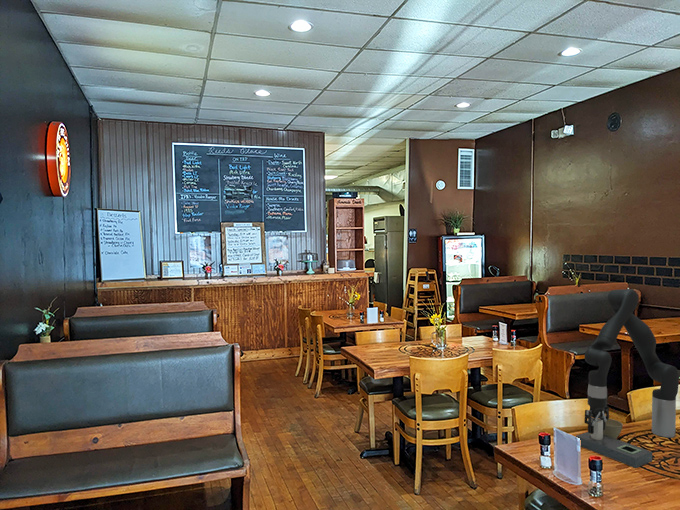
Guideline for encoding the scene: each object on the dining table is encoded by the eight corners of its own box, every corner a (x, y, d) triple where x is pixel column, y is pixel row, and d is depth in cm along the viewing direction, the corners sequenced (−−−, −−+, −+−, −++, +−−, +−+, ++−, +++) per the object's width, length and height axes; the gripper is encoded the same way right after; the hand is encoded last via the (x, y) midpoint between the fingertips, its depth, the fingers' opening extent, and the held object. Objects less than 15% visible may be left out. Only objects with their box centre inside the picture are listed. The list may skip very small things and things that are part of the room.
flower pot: (597, 439, 219) (598, 423, 219) (597, 431, 228) (597, 416, 228) (623, 443, 215) (623, 427, 215) (621, 435, 224) (622, 420, 223)
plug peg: (593, 443, 214) (593, 417, 214) (602, 447, 211) (603, 420, 210) (588, 445, 213) (589, 418, 212) (598, 448, 209) (598, 421, 209)
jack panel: (592, 439, 220) (592, 430, 219) (652, 461, 197) (652, 451, 197) (575, 444, 214) (575, 435, 214) (635, 468, 191) (635, 457, 191)
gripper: (598, 390, 218) (598, 425, 218) (579, 395, 211) (578, 431, 211) (615, 394, 211) (614, 431, 212) (595, 399, 204) (595, 437, 205)
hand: (596, 431), depth 211 cm, fingers open, 8 cm apart
